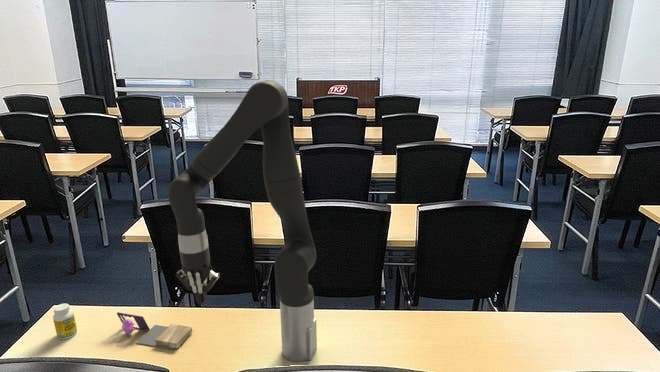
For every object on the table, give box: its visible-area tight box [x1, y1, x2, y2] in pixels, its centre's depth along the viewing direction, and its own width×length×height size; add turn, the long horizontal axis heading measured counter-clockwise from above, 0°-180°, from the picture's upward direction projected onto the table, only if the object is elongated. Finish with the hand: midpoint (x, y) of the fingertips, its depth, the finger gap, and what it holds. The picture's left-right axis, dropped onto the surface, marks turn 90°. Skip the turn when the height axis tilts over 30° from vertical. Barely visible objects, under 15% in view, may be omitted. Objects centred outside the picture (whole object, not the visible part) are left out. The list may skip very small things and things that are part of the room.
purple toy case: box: [116, 311, 151, 338], centre depth 135 cm, size 7×5×9 cm
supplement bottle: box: [52, 303, 78, 340], centre depth 135 cm, size 5×5×10 cm
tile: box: [155, 323, 193, 349], centre depth 133 cm, size 2×8×7 cm
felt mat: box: [136, 324, 175, 351], centre depth 134 cm, size 12×9×1 cm
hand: (201, 302), depth 126 cm, fingers closed
